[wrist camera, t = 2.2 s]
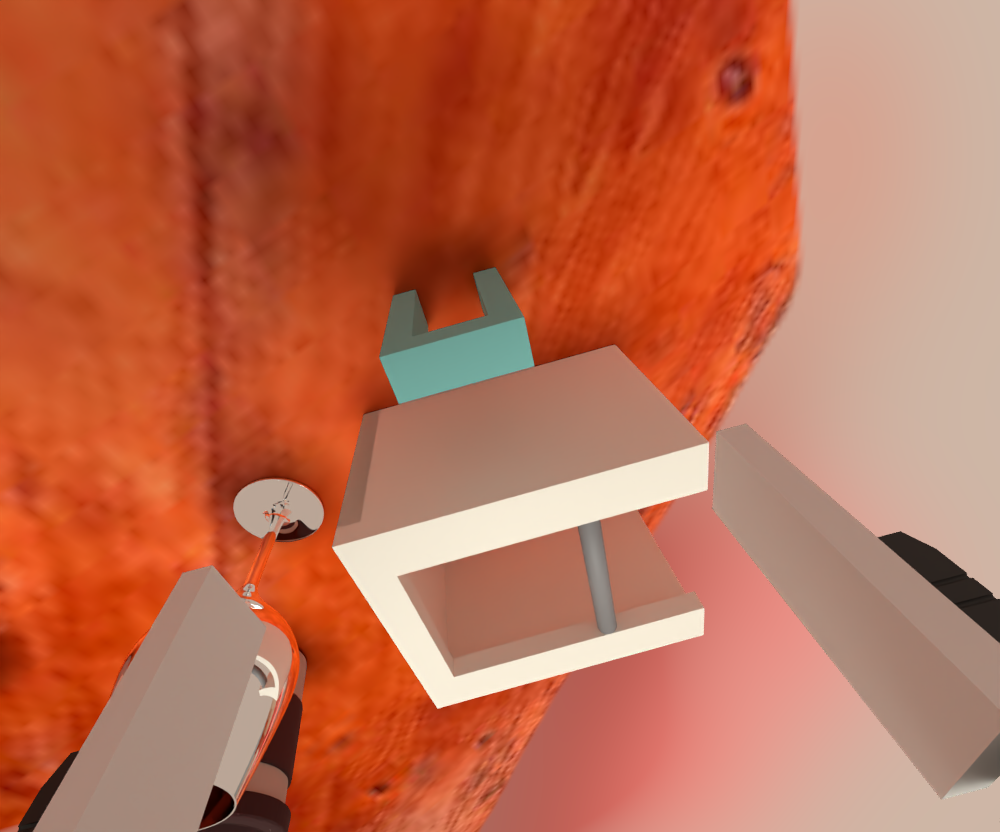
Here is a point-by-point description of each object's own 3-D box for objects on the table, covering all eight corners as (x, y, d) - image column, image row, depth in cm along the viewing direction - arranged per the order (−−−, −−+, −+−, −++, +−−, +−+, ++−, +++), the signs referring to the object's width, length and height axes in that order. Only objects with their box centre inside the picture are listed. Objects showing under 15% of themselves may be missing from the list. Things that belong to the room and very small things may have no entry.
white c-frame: (363, 414, 31) (332, 547, 20) (614, 344, 30) (708, 442, 20) (434, 562, 39) (437, 708, 29) (631, 508, 39) (703, 634, 29)
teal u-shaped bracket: (393, 295, 27) (378, 357, 19) (495, 266, 27) (523, 317, 19) (406, 331, 28) (399, 404, 20) (504, 304, 28) (534, 366, 20)
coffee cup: (291, 617, 40) (228, 835, 27) (339, 672, 45) (305, 875, 33) (187, 648, 40) (77, 878, 28) (248, 699, 46) (178, 912, 33)
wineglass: (332, 467, 32) (248, 750, 17) (341, 546, 37) (280, 831, 21) (209, 467, 31) (0, 776, 16) (233, 550, 35) (85, 858, 20)
